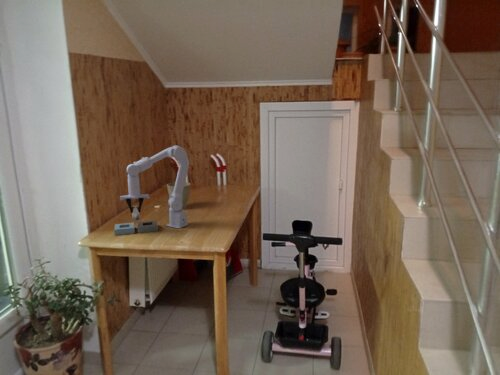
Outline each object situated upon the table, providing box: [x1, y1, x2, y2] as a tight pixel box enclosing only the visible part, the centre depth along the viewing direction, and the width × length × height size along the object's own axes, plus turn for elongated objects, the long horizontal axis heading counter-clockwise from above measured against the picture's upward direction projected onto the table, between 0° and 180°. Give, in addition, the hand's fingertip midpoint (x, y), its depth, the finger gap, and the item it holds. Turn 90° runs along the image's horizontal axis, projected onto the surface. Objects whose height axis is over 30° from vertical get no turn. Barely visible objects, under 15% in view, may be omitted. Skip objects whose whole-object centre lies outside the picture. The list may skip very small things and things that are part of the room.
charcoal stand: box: [137, 220, 159, 234], centre depth 213 cm, size 10×10×3 cm
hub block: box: [113, 222, 136, 236], centre depth 209 cm, size 10×10×3 cm
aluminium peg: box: [131, 205, 141, 221], centre depth 209 cm, size 4×4×7 cm
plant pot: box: [166, 181, 191, 210], centre depth 253 cm, size 15×15×16 cm
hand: (135, 212), depth 209 cm, fingers closed on aluminium peg, 4 cm apart
